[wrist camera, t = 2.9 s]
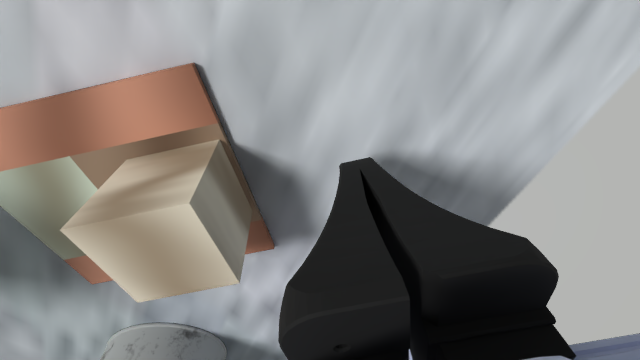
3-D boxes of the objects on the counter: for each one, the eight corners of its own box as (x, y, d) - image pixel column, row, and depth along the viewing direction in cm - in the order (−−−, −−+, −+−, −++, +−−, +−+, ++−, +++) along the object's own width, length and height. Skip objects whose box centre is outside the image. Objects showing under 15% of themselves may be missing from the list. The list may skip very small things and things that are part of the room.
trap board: (194, 62, 11) (191, 64, 11) (274, 244, 17) (274, 248, 17) (-81, 127, 12) (-89, 130, 11) (94, 280, 18) (91, 284, 18)
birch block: (219, 139, 13) (189, 202, 9) (252, 211, 15) (239, 283, 12) (126, 159, 13) (59, 230, 9) (174, 227, 15) (137, 302, 12)
